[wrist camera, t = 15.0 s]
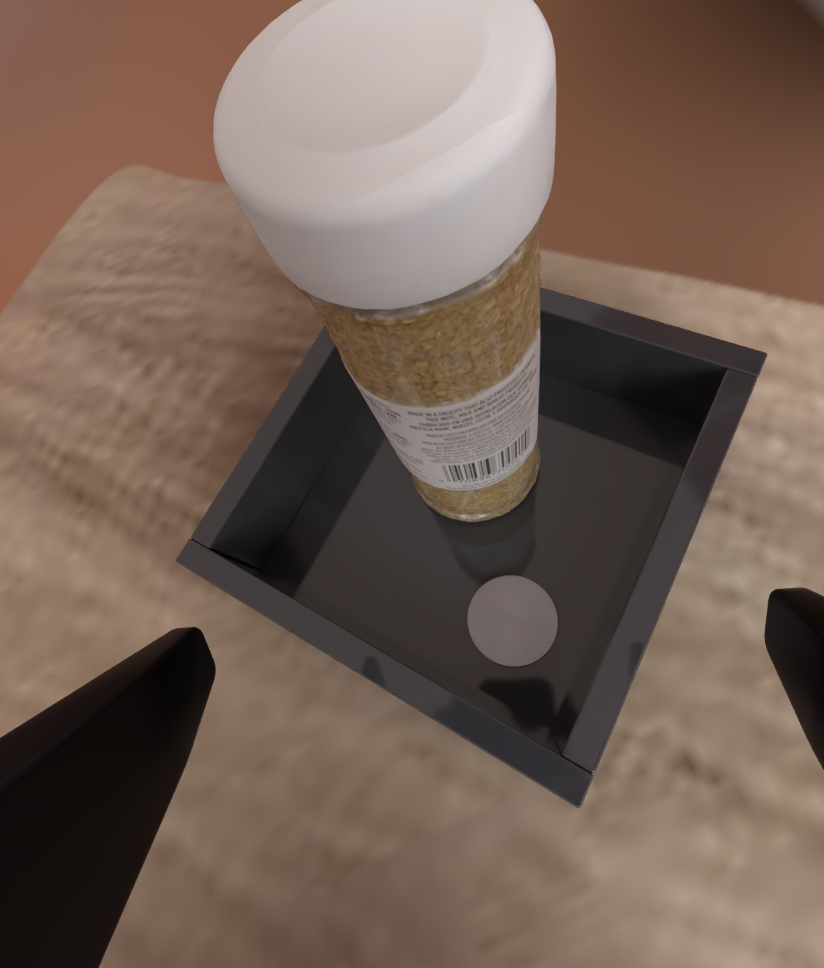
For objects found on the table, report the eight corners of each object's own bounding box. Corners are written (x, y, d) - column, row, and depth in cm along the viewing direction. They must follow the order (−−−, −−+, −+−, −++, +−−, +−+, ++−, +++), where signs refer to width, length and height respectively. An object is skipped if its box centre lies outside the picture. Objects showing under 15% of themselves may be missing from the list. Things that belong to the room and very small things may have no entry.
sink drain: (534, 685, 16) (534, 685, 16) (452, 639, 17) (451, 639, 17) (572, 600, 17) (573, 600, 17) (491, 561, 18) (490, 560, 18)
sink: (567, 779, 16) (579, 809, 12) (241, 583, 20) (174, 561, 16) (719, 420, 18) (768, 352, 15) (403, 313, 23) (378, 239, 19)
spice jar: (528, 396, 19) (525, -99, 7) (551, 517, 18) (599, 145, 5) (404, 418, 20) (206, 2, 8) (415, 535, 19) (187, 245, 6)
